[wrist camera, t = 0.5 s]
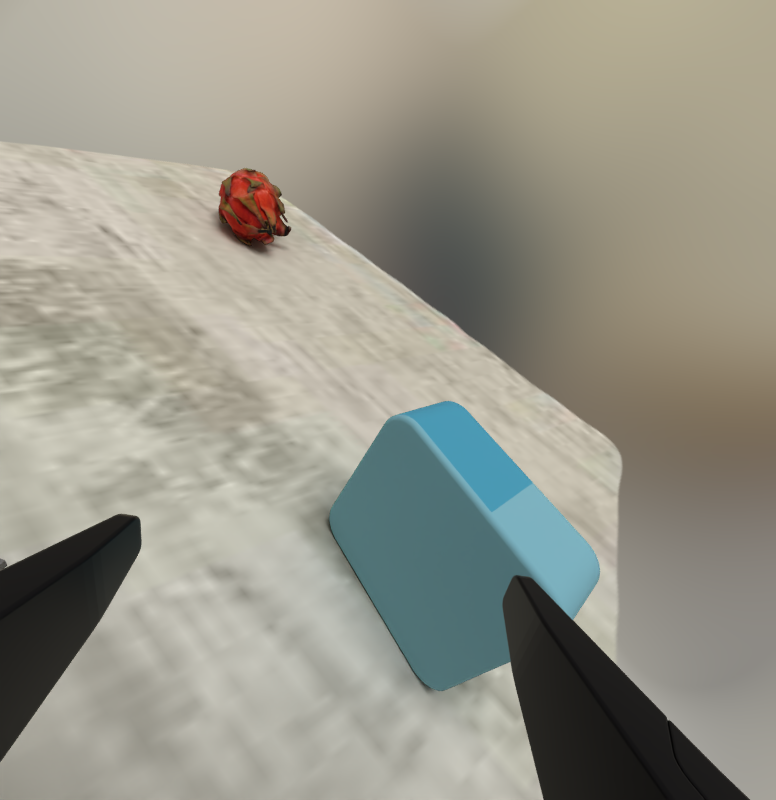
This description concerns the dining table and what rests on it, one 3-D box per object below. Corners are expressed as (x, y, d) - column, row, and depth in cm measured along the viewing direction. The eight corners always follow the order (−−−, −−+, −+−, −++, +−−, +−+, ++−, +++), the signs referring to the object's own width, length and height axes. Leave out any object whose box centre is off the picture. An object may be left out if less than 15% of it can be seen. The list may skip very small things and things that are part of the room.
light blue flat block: (472, 649, 24) (618, 573, 17) (428, 699, 21) (583, 632, 14) (370, 497, 29) (449, 388, 22) (322, 519, 26) (395, 401, 19)
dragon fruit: (237, 223, 56) (260, 278, 51) (191, 177, 48) (213, 237, 44) (282, 188, 55) (310, 242, 50) (242, 136, 47) (271, 193, 42)
